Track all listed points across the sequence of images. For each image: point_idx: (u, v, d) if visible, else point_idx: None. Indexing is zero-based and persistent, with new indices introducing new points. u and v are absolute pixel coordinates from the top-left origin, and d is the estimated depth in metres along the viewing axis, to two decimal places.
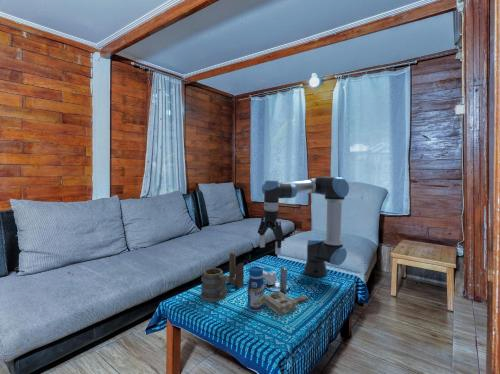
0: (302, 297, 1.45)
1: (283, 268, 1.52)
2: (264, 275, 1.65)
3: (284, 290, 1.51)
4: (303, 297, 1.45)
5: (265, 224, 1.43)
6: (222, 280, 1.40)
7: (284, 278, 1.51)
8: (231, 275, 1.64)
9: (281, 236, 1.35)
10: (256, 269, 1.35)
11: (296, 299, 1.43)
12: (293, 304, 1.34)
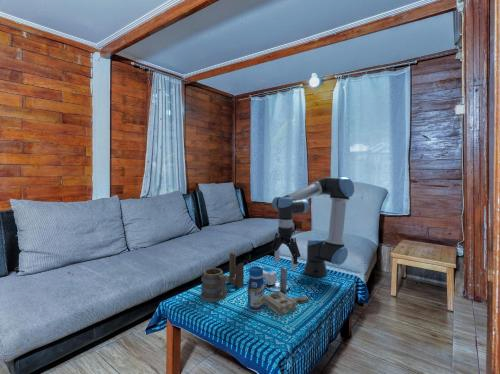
0: (303, 297, 1.45)
1: (283, 268, 1.52)
2: (264, 275, 1.65)
3: (284, 290, 1.51)
4: (304, 298, 1.44)
5: (280, 240, 1.46)
6: (222, 280, 1.40)
7: (284, 278, 1.51)
8: (231, 275, 1.64)
9: (297, 253, 1.37)
10: (256, 269, 1.35)
11: (296, 299, 1.43)
12: (293, 304, 1.34)
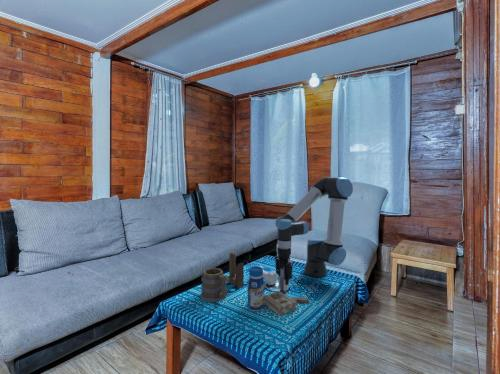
0: (304, 298, 1.44)
1: (283, 268, 1.52)
2: (264, 275, 1.66)
3: None
4: (304, 298, 1.43)
5: (279, 261, 1.52)
6: (222, 280, 1.40)
7: None
8: (231, 275, 1.64)
9: (290, 275, 1.48)
10: (256, 269, 1.35)
11: (295, 298, 1.44)
12: (293, 304, 1.34)
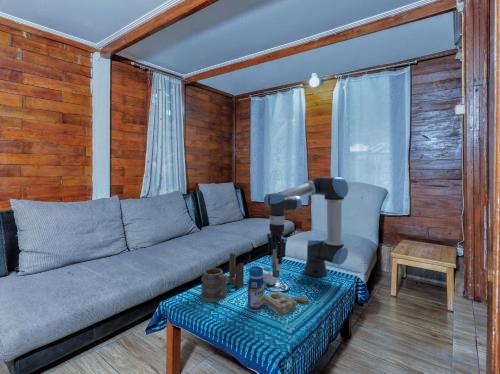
0: (304, 298, 1.44)
1: (276, 249, 1.39)
2: (265, 275, 1.66)
3: (277, 273, 1.38)
4: (304, 299, 1.43)
5: (272, 238, 1.39)
6: (222, 280, 1.40)
7: None
8: (231, 275, 1.64)
9: (283, 253, 1.35)
10: (256, 269, 1.35)
11: (295, 298, 1.44)
12: (293, 304, 1.34)
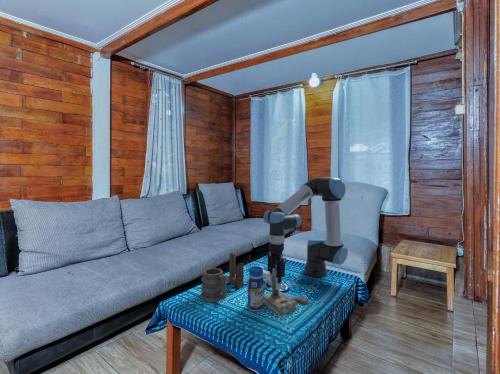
0: (304, 299, 1.43)
1: (275, 268, 1.40)
2: (265, 275, 1.66)
3: (276, 291, 1.39)
4: (304, 299, 1.42)
5: (271, 257, 1.40)
6: (222, 280, 1.40)
7: None
8: (231, 275, 1.64)
9: (282, 273, 1.35)
10: (256, 269, 1.35)
11: (296, 297, 1.44)
12: (293, 304, 1.34)
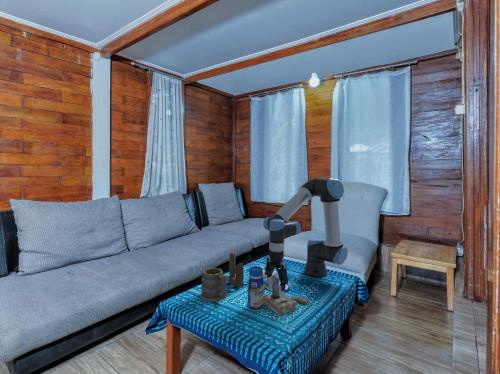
0: (304, 299, 1.43)
1: (275, 276, 1.40)
2: (265, 275, 1.66)
3: None
4: (304, 300, 1.42)
5: (271, 264, 1.40)
6: (222, 280, 1.40)
7: (276, 287, 1.39)
8: (231, 275, 1.64)
9: (285, 280, 1.33)
10: (256, 269, 1.35)
11: (296, 297, 1.44)
12: (293, 304, 1.34)
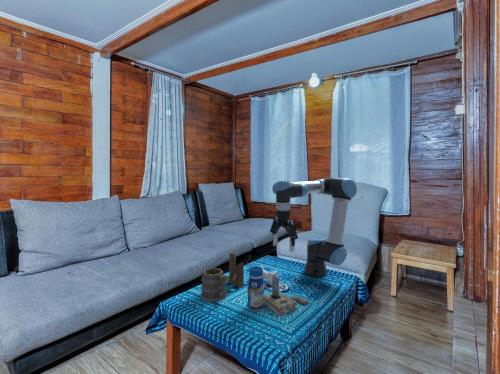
0: (304, 299, 1.42)
1: (275, 276, 1.40)
2: (265, 274, 1.66)
3: None
4: (304, 300, 1.41)
5: (278, 223, 1.48)
6: (222, 280, 1.40)
7: (276, 287, 1.39)
8: (231, 275, 1.64)
9: (295, 234, 1.40)
10: (256, 269, 1.35)
11: (296, 297, 1.45)
12: (293, 304, 1.34)
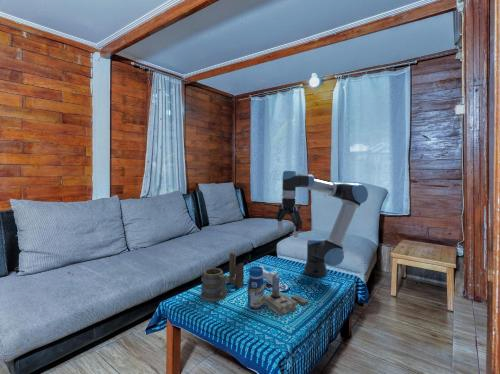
0: (304, 300, 1.42)
1: (275, 276, 1.40)
2: (265, 274, 1.66)
3: None
4: (303, 300, 1.41)
5: (283, 210, 1.57)
6: (222, 280, 1.40)
7: (276, 287, 1.39)
8: (231, 275, 1.64)
9: (299, 220, 1.49)
10: (256, 269, 1.35)
11: (297, 297, 1.45)
12: (293, 304, 1.34)
